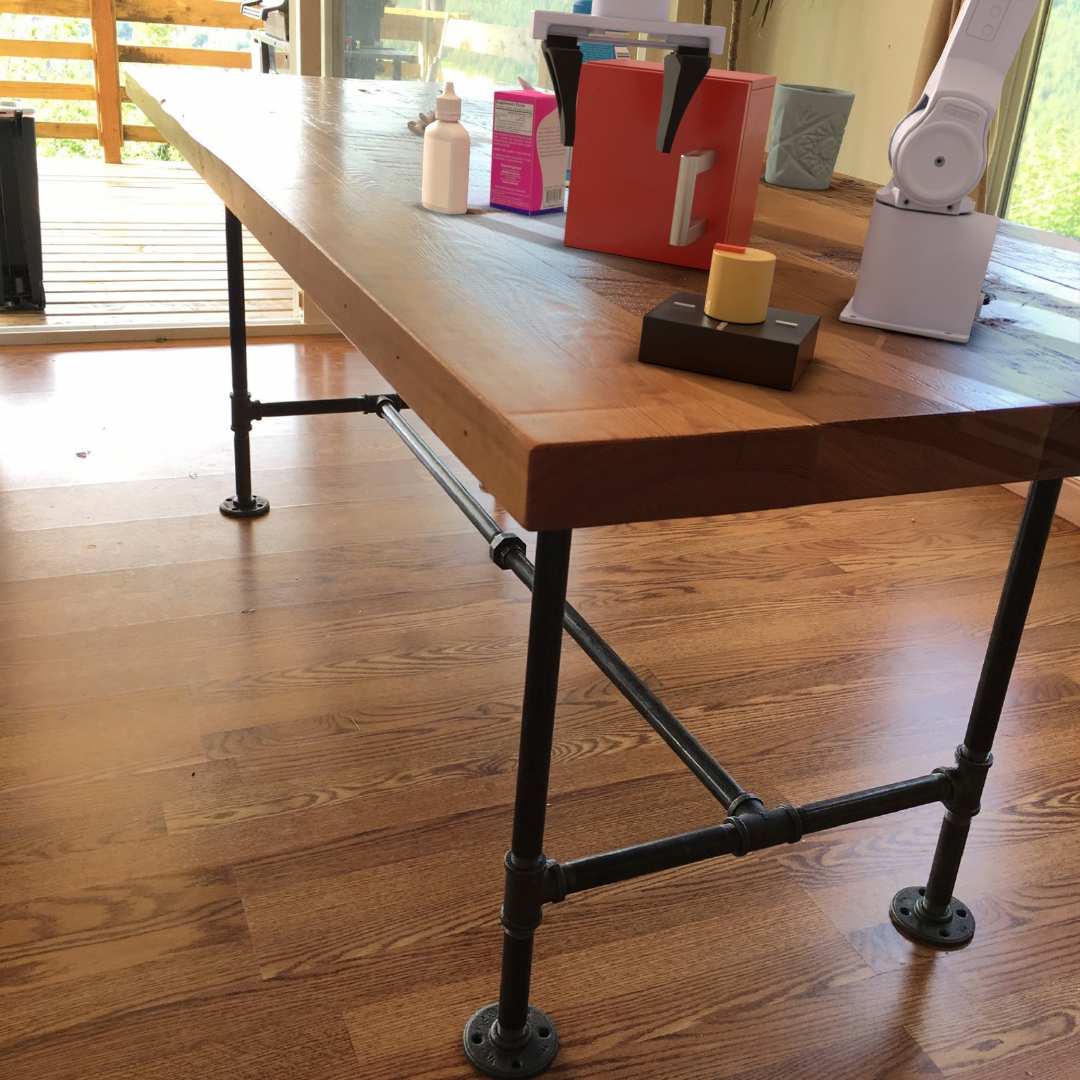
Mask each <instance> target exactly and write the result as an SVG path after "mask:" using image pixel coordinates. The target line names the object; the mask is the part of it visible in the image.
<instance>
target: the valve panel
mask: <svg viewBox="0 0 1080 1080" xmlns="http://www.w3.org/2000/svg"><path fill="white" fill-rule="evenodd" d="M705 302H706V295H704V294H698V293H692V292H686V291H681V290H677V291H675V292H674V293H673V294H671V295H670V296H668V297H667V298H665V299H664V300H663V301H662V302H660V303H659V304H658V305H656V306H655V307H654V308H652V309H651V310H649V311H648V312H646V314H644V315H643V317H642V325H641V333H640V341H639V348H638V357H637V361H638V362H644V363H647V364H653V365H657V366H662V367H668V368H673V369H678V370H683V371H689V372H693V373H697V374H703V375H707V376H708V375H709V376H713V377H718V378H723V379H727V380H731V381H732V380H733V381H737V382H742V383H747V384H748V383H749V384H752V385H758V386H761V387H768V388H773V389H776V390H777V389H778V390H783V391H788V392H791V391H792V390H793V388H794V387H795V385H796V384H797V382H798V381H799V379H800V378H801V377H802V375H803V373H804V372H805V371H806V369H807V368H808V366H809V365H810V363H811V362H812V361H813V359H814V355H815V349H816V345H817V344H816V343H817V339H818V335H819V330H820V324H821V320H822V316H821V315H816V314H810V313H805V312H800V311H794V310H788V309H783V308H778V307H777V308H776V307H771V306H768V308H767V314H766V319H765V320H764V321H762V322H759V323H734V322H728V321H723V320H719V319H716V318H713V317H711V316H709V315H707V314H706V313H705V312H704V308H705Z"/></svg>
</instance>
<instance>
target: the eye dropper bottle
mask: <svg viewBox="0 0 1080 1080" xmlns="http://www.w3.org/2000/svg"><path fill="white" fill-rule="evenodd" d="M454 85H455V84H454V82H453V81H445V84H444V88H443V89H444V90H443V91H444V92H443V93H442V94H441V93H440V94H439V95H437V96H436V97H435V109H436V117H435V118H437V119H438V120H436V121H435V122H433V123H431V124H429V125H428V126H427V127H426V129H425V130H424V135H423V153H422V155H423V156H422V179H421V205H422V207H423V208H425V209H427V210H428V211H431V212H435V213H438V214H442V215H448V216H456V215H457V216H458V215H465V214H467V213H468V212H467V211H468V200H469V199H468V198H469V197H468V196H469V177H470V159H471V136H470V134H469V132H468V130H467V129H466V128H465V127H464V125H462V123H461V122H460V121H461V115H462V98H461V97H459V96H458V95H457V94H456V92H455V86H454Z"/></svg>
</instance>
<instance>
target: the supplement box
mask: <svg viewBox="0 0 1080 1080" xmlns="http://www.w3.org/2000/svg"><path fill="white" fill-rule="evenodd" d="M535 90H536V89H535ZM535 90H523V89H521V90H520V89H515V90H513V89H511V90H495V91H493V106H492V107H493V108H492V109H493V110H492V111H493V112H492V128H491V129H492V135H491V137H492V138H491V161H490V180H489V181H490V182H489V183H490V184H489V204H488V205H489V207H490V208H494V209H498V210H502V211H506V212H511V213H514V214H519V215H523V216H527V217H536V216H543V215H550V214H555V213H556V214H557V213H563V212H565V198H566V196H565V195H566V186H565V184H566V169H567V154H568V146H564V145H563V144H561V143H560V142H561V136H560V121H559V114H558V107H557V102H556V97H555V92H549V91H548V92H544V91H541V90H536V91H535Z"/></svg>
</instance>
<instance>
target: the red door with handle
mask: <svg viewBox="0 0 1080 1080" xmlns="http://www.w3.org/2000/svg"><path fill="white" fill-rule="evenodd" d="M663 82H664V72H656V71H648V70H639V69H631V68H622V67H614V66H605V65H596V64H588V63H582V66H581V72H580V78H579V85H578V95H577V106H576V127H575V139H574V146H573V149H572V160H571V170H570V181H569V187H568V194H567V204H566V212H565V213H566V214H565V226H564V234H563V235H564V237H563V246H564V247H568V248H569V247H570V248H575V249H582V250H588V251H591V252H592V251H593V252H599V253H604V254H610V255H616V256H623V257H628V258H634V259H639V260H645V261H652V262H658V263H663V264H669V265H675V266H680V267H687V268H692V269H699V270H704V271H709V272H710V269H711V262H712V256H713V250H714V246H715V244H716V243H720V244H726V243H727V237H728V230H729V224H730V218H731V211H732V205H733V198H734V192H735V186H736V179H737V173H738V167H739V160H740V154H741V147H742V141H743V135H744V128H745V122H746V115H747V109H748V103H749V96H750V90H751V83H750V82H742V81H733V80H725V79H716V78H708V77H704V79H703V80H702V82H701V83H700V85H699V86H698V88H697V90H696V91H695V93H694V95H693V97H692V99H691V100H690V102H689V104H688V106H687V108H686V111H685V113H684V115H683V117H682V120H681V122H680V124H679V127H678V130H677V132H676V135H675V138H674V141H673V145H672V148H671V152H670V153H661V152H660V151H658V150H656V139H657V131H658V125H659V119H660V113H661V107H662V97H663Z"/></svg>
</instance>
